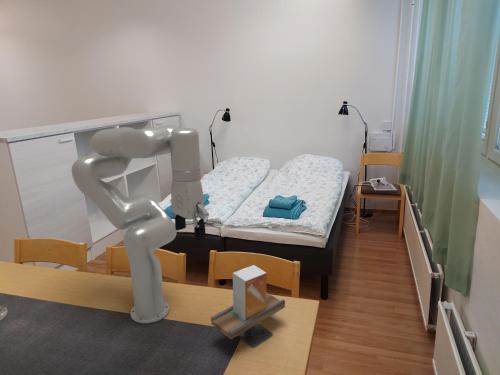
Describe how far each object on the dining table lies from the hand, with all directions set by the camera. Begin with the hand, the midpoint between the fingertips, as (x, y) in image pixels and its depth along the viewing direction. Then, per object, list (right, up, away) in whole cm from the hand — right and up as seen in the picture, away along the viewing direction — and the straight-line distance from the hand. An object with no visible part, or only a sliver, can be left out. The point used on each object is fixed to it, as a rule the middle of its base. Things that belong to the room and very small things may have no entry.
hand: (190, 234), depth 102 cm
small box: (+17, -24, +8) cm, 31 cm away
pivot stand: (+17, -32, +10) cm, 37 cm away
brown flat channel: (+17, -26, +8) cm, 32 cm away
